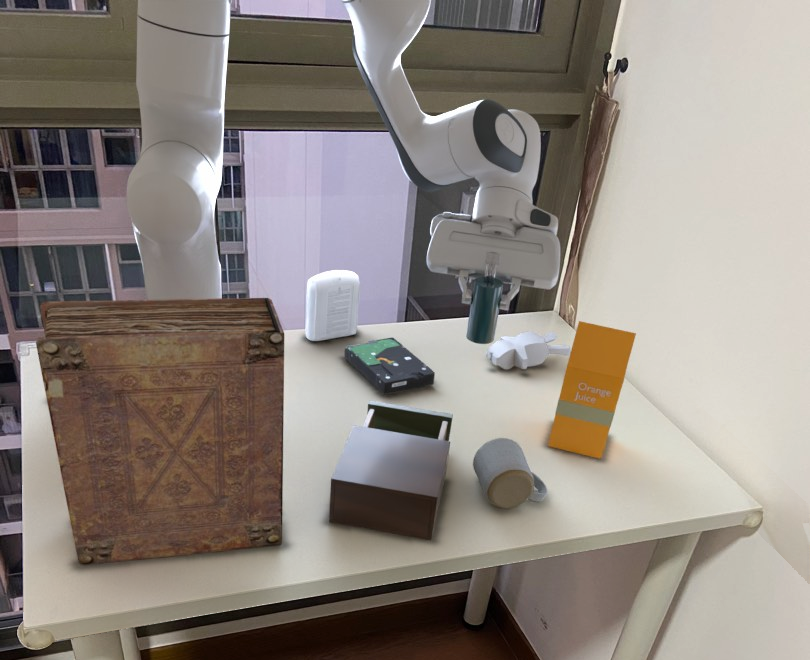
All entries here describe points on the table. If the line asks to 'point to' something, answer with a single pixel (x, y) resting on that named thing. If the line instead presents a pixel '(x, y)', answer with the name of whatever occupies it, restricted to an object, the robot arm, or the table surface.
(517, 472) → the ceramic mug
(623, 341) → the orange juice
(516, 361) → the bunny figurine
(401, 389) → the disk drive
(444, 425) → the drawer
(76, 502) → the book
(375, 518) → the cabinet
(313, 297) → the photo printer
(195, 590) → the table surface
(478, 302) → the cutlery cup
